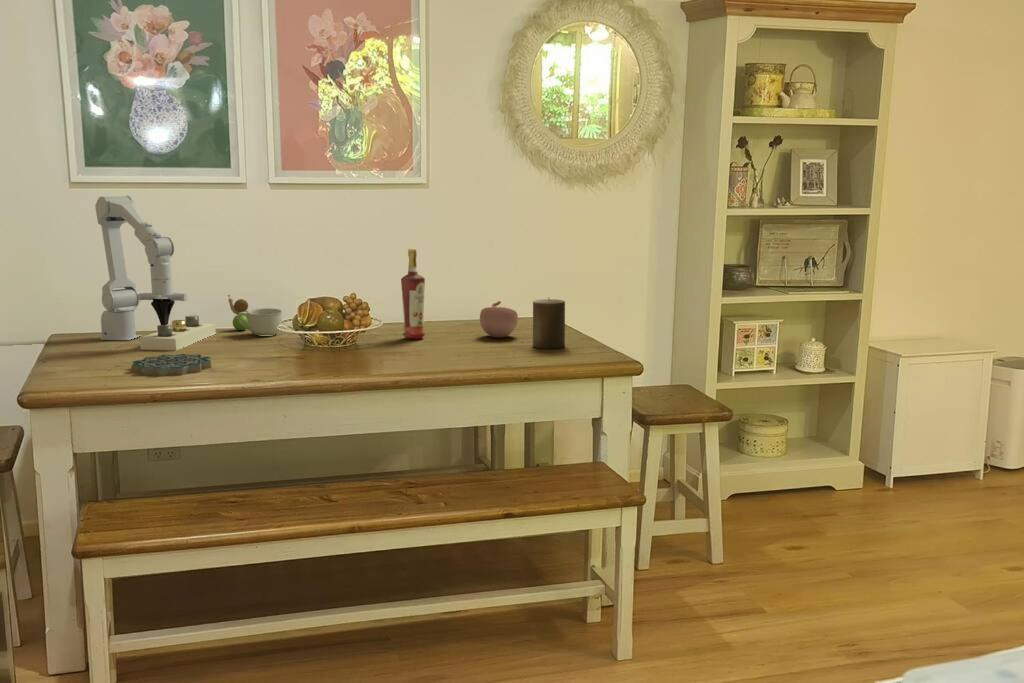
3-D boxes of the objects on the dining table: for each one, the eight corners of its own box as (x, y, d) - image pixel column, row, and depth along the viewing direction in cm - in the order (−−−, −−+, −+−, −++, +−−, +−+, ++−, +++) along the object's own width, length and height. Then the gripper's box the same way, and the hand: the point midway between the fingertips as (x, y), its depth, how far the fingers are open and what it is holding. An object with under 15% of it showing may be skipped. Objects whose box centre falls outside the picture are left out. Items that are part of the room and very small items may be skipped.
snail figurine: (228, 330, 316) (226, 293, 314) (248, 328, 319) (246, 292, 317) (231, 332, 311) (229, 295, 309) (251, 331, 314) (249, 294, 312)
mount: (140, 349, 283) (139, 337, 282) (183, 333, 309) (182, 323, 308) (176, 350, 281) (175, 338, 281) (215, 334, 308) (215, 323, 307)
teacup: (287, 332, 312) (286, 308, 310) (276, 338, 301) (275, 313, 300) (246, 332, 313) (245, 307, 312) (233, 337, 303) (232, 312, 301)
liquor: (414, 341, 296) (412, 250, 291) (397, 339, 300) (395, 249, 295) (430, 338, 302) (429, 249, 296) (413, 335, 306) (411, 247, 301)
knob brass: (169, 331, 293) (169, 321, 292) (176, 329, 297) (175, 319, 296) (182, 331, 292) (181, 321, 292) (188, 329, 296) (187, 319, 296)
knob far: (183, 326, 301) (182, 317, 301) (189, 324, 305) (188, 315, 305) (195, 327, 301) (195, 317, 300) (201, 325, 305) (200, 315, 304)
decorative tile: (226, 368, 258) (225, 360, 257) (156, 381, 243) (155, 371, 242) (187, 359, 271) (186, 350, 270) (118, 370, 256) (118, 361, 256)
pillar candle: (562, 349, 283) (562, 299, 280) (529, 348, 285) (529, 298, 282) (567, 343, 292) (567, 295, 290) (535, 342, 294) (535, 294, 292)
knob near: (155, 336, 284) (154, 326, 283) (161, 334, 288) (161, 324, 287) (168, 336, 283) (167, 326, 283) (174, 334, 287) (173, 324, 287)
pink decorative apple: (519, 334, 309) (519, 299, 307) (515, 341, 297) (516, 304, 295) (482, 333, 310) (482, 298, 308) (477, 340, 298) (477, 303, 296)
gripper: (131, 280, 280) (134, 326, 282) (178, 280, 278) (181, 327, 280) (143, 277, 286) (146, 322, 289) (189, 278, 285) (192, 323, 287)
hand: (164, 324), depth 285 cm, fingers closed
